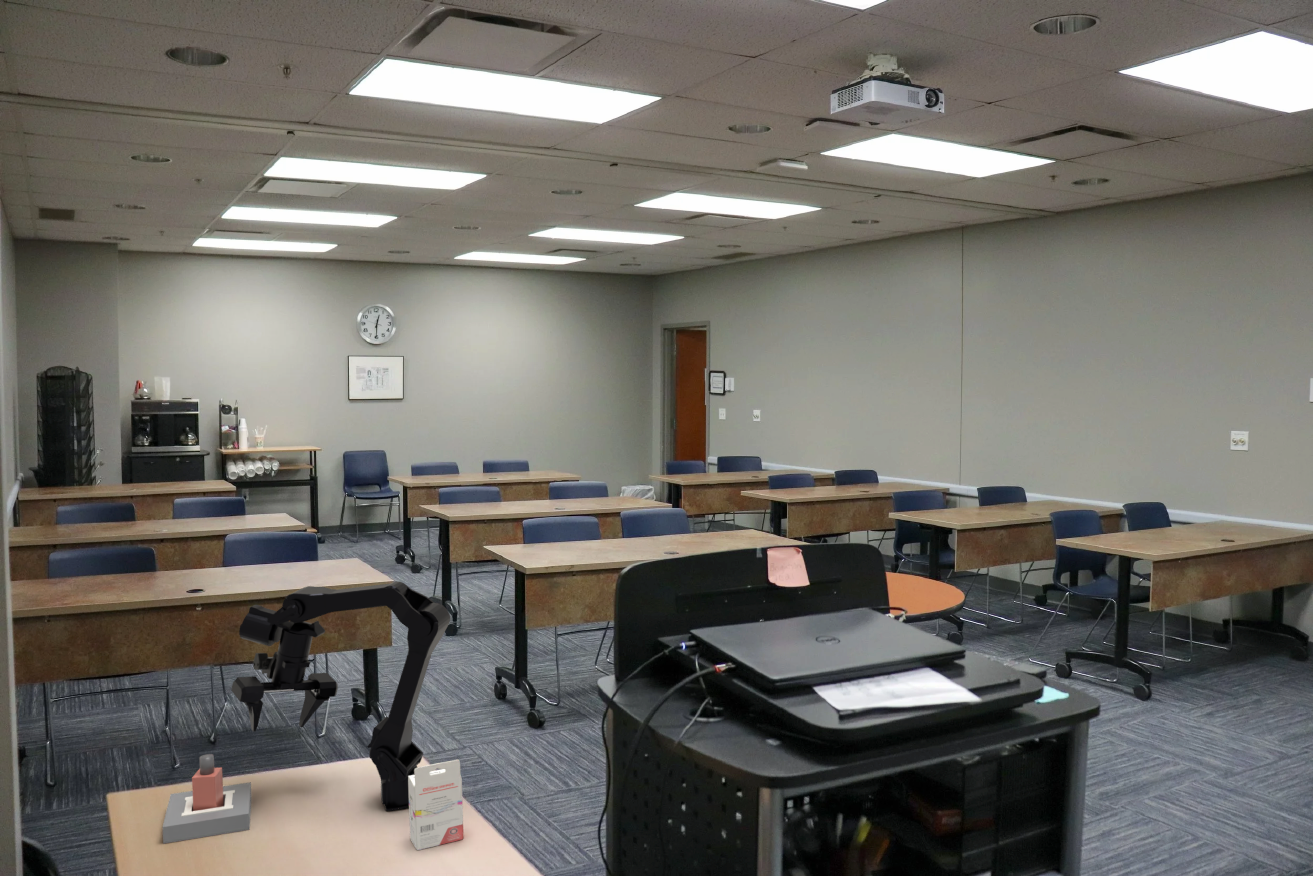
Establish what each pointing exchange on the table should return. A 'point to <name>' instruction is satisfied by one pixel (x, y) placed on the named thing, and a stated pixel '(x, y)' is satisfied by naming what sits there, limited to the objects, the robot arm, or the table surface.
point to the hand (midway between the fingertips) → (277, 728)
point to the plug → (207, 785)
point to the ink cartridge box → (435, 805)
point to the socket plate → (207, 815)
